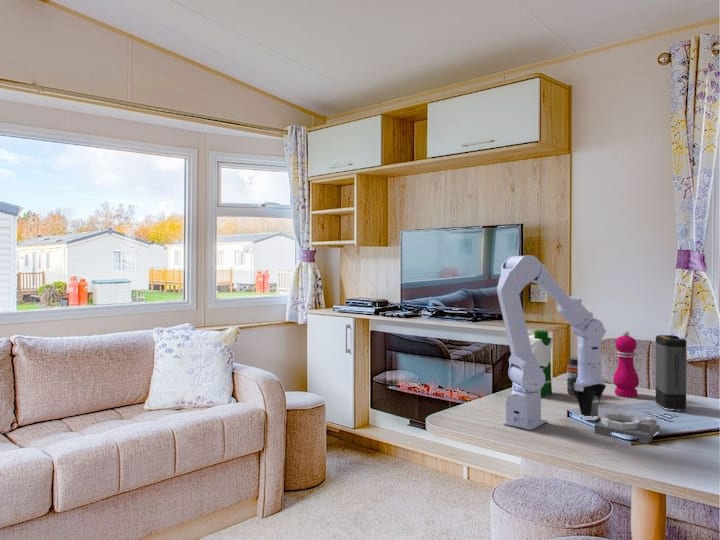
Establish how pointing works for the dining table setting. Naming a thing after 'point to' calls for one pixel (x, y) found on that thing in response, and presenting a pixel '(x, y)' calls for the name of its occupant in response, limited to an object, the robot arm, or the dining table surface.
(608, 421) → the grey base plate
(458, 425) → the dining table surface
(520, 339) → the robot arm
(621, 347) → the pepper mill
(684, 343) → the electronic device
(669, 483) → the dining table surface
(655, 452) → the dining table surface
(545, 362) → the milk carton
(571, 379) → the supplement bottle
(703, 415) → the dining table surface
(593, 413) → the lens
